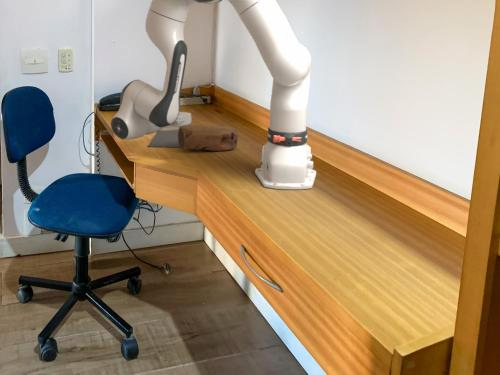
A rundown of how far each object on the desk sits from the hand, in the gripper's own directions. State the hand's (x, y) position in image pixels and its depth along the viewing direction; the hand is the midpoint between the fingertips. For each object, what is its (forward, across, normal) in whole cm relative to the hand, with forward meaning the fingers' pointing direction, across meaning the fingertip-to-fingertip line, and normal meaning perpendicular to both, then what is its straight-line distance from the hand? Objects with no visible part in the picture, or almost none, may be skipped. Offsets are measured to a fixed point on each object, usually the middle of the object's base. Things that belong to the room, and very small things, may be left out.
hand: (175, 112), depth 206 cm
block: (-1, -2, +8) cm, 9 cm away
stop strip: (+23, +14, +13) cm, 30 cm away
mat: (+12, +7, +13) cm, 19 cm away
